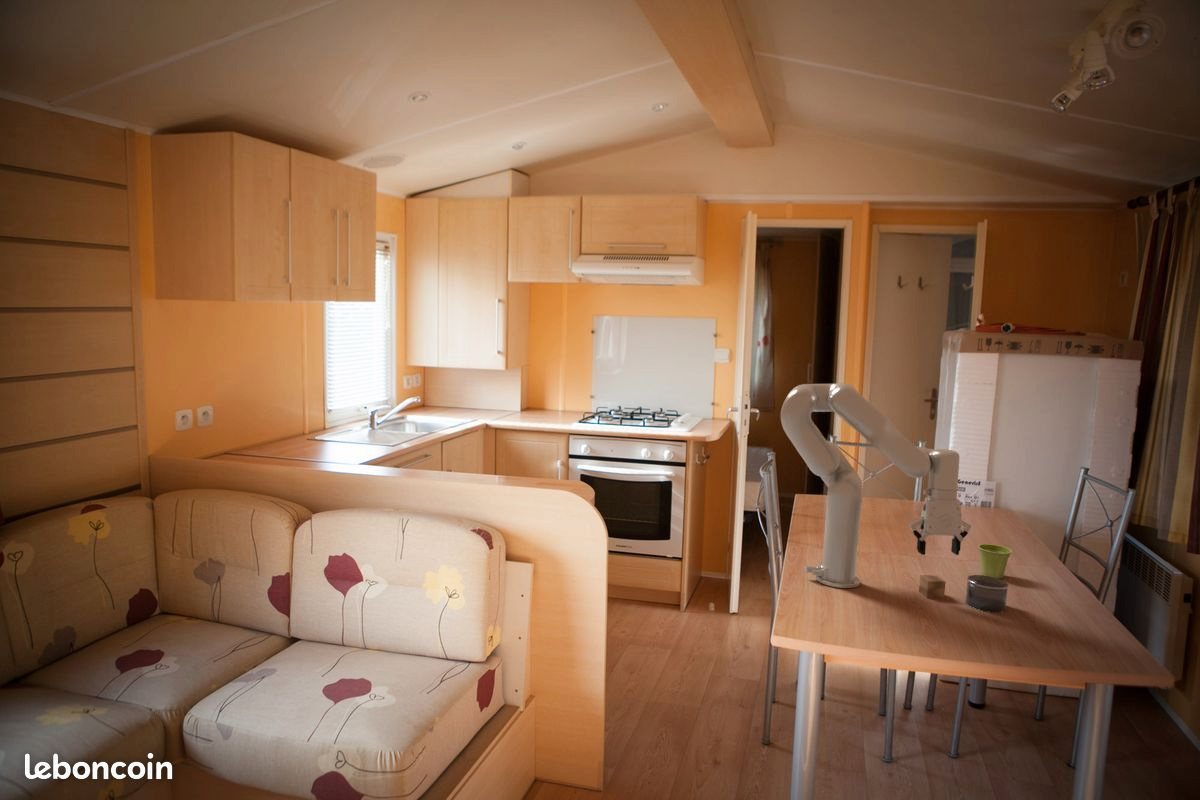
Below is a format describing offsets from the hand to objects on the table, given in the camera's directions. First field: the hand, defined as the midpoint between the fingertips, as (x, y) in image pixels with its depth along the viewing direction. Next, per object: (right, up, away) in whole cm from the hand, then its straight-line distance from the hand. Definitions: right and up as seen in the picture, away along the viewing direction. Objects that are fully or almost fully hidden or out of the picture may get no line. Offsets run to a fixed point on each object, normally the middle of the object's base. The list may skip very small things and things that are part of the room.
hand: (938, 553), depth 228 cm
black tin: (+11, -14, -5) cm, 18 cm away
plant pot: (+26, -11, +22) cm, 36 cm away
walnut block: (-1, -12, +2) cm, 12 cm away
